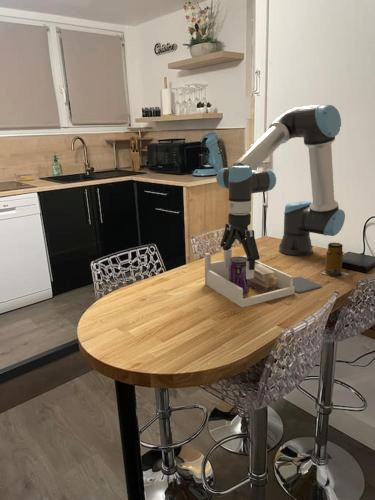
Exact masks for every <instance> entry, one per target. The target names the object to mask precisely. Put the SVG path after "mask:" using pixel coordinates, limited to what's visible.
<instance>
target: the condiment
mask: <svg viewBox="0 0 375 500" xmlns="http://www.w3.org/2000/svg"><path fill="white" fill-rule="evenodd" d="M343 247H344V245H343V244H342V243H339V242H329V243H328V244H327V250H326V252H325V253H326V255H325V266H324V271H321V272H320V274H323V275H326V276H330V277H334V278H337V279H342V278H344V277H347V276H349V275H350V273H348V272H344V271H342V266H343V257H344V252H343Z"/></svg>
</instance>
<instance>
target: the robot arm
mask: <svg viewBox="0 0 375 500" xmlns="http://www.w3.org/2000/svg"><path fill="white" fill-rule="evenodd" d="M341 118H342V117H341V114H340V112H339V110H338V109H337V108H336V107H335V106H334V105H332V104H317V105H316V104H315V105H306V106H296V107H293V108H291V109H288V110H287V111H286V112H284V113H282V114H281V115H280V116H278V117H277V118H275V120H274V121H273V122H272V123H270V124H269V126H268V130H267V131H266V132H264V133H263V134H262V136H261V137H259V138H258V140H256V141H255V143H253V144H252V145H251V146H250V147H249V148H248V149H247V150H246V151H245V152H244V153H243V154H242V155H241V156H240V157H239V158H238V159H237V160H236V161H234V162H233V164H232V165H231V166H229V167H225V168H224V167H223V168H221V169H218V172H217V174H216V175H215V176H216V184H217V185H218V187H220V188H222V189H227V190H228V206H227V207H228V212H229V213H228V215H227V217H228V218H227V220H228V221H227V222H228V223H225V224H224V225H225V226H224V232H223V234H222V235H223V236H222V239H221V241H220V245H219V246H220V247H221V248H222V250H223V260H224V268H227V267H229V262H230V258H232V257H233V256H232V255H233V254H232V253H233V250H232V247H233V244H234V243H235V241H238V242H239V243H240V244H241V246H242V247H243V251H244V254H245V256H247V258H248V259H247V260H246V279H251V278H254V269H255V260H256V261H259V260H260V259H261V258H260V254H259V251H258V246H257V242H256V238H255V230H254V229H250V230H249V229H248V228H249V226H250V225H251V223H252V222H251V219H252V218H251V217H252V216H251V212H252V194H257V193H267V192H269V191H271V190H273V189H274V188H275V186H276V184H277V177H276V174H275V172H274V171H272V170H271V169H264V168H263V169H258V168H259V167H260V166H261V165H262V164H263V163H264V162H265V161H266V160H267V159H268V158H270V156H271V155H272V154H273V153H274V152H275V151H276V150H277V149H278V148H279V147H280V145H283V144H286V143H287V142H288V141H290V140H291V139H295V138H303V144H304V145H305V146H306V147H307V148H308V158H309V159H308V160H309V171H310V172H309V173H310V182H311V183H310V184H311V195H312V201H296V202H289V203H287V204H286V205H285V206H284V212H283V214H284V218H283V219H284V220H283V235H282V238H281V242H280V243H279V246H278V252H279V253H282V254H284V255H289V256H307V255H310V254H311V255H312V253H313V245H312V241H311V236H310V233H312V234H317V235H323V236H326V237H327V236H330V237H333V236H334V237H335V236H337V235H338V234H339V233H340V232H341V230H342V228H343V227H344V225H345V224H344V223H345V219H346V213H345V211H344V210H343V209H340V208H339V202H338V201H336V200H335V194H334V193H335V189H334V187H335V186H334V169H333V168H334V167H333V151H332V144H333V143H334V141H335V140H336V136H337V135H338V134H340V131H341V127H342V119H341ZM250 256H251V257H250Z"/></svg>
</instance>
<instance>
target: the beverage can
mask: <svg viewBox="0 0 375 500" xmlns="http://www.w3.org/2000/svg"><path fill="white" fill-rule="evenodd" d="M247 259H248V258H246V257H242V256H232V258H230V262H229V280H228V281H230V282H232V283H234V284H235V285H237V286H239V287H241V288H242V289H243V294H244V293H246V292H248V291H249V288H250V285H249V279H246V260H247Z"/></svg>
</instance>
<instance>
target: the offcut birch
mask: <svg viewBox="0 0 375 500" xmlns="http://www.w3.org/2000/svg"><path fill="white" fill-rule="evenodd" d="M254 276H256V277H258V278H259V279H261V280H262V281H265V280H269V279H274V277H275V272H273V271H272V270H270V269H268V268H266V267H265V266H263V265H261V264H255V269H254Z"/></svg>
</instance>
